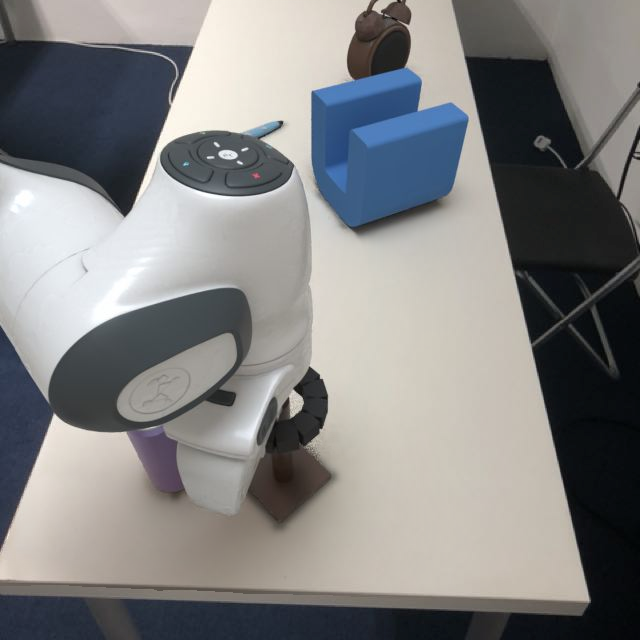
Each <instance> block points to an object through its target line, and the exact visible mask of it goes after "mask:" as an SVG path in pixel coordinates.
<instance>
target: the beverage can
mask: <svg viewBox="0 0 640 640" xmlns="http://www.w3.org/2000/svg"><path fill="white" fill-rule="evenodd" d="M163 425H164V424H162V425H159V426H155V427H150V428H146V429H141V430H135V431H127V432H125V433H126V435H127V437H128V439H129V441H130V443H131V445H132V447H133V449H134V451H135V453H136V455H137V457H138V459H139V461H140V463H141V465H142V466H143V468H144V470H145V473H146V474H147V476H148V479H149V480H150V483H151V484H152V485H153V486H154V487H155V488H156V489H157V490H159V491H161V492H164V493H177V492H181V491H183V490H185V488H184V485H183V483H182V480H181V477H180V473H179V470H178V466H177V445H178V441H175V440H173V439H171V438H169V437H167V435H166V434H165V431H164V426H163Z"/></svg>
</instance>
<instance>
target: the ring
mask: <svg viewBox="0 0 640 640" xmlns="http://www.w3.org/2000/svg"><path fill="white" fill-rule="evenodd" d="M327 390H328V389H327V387H326V384H325V381H324V379H323V378H321V374H320V373H319V372H317V370H316V369H314V368H313V367H311V366H310V365H309V368H308V370H307V372H306V374H305V375H304V377H303V378H302V380H301V381H300V382H299V383H298V384H297V385H296V386H295V387H294V388H293V390H292V391H294V392H295V393H296V394H298V395H299V396H300V398H302V402H303V404H302V406H301V409H300V410H299V411H298V412H297V413H296V414H294V415H293V416H292V417H291V419H287V420H283V421H279V422H275V423H274V425H273V428H272V430H271V433H270V435H269V440H268V441H269V445H268V447H267V450H266V453H270V454H273V453H274V450H275V447H276V448H277V453H278V454H282V453H286V452H290V451H295V450H299V449H300V444H301V445H302V446H303V447H304V448H305V447H306V446H307V445H308V444H310V443H311V442H312V441H313V440H314V439H315V438H316V437H318V436H319V435H320V434H321V430H323V429H324V425H325V422H326V419H327V416H328V413H329V393H328V391H327ZM299 443H300V444H299Z"/></svg>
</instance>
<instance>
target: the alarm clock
mask: <svg viewBox="0 0 640 640" xmlns="http://www.w3.org/2000/svg"><path fill="white" fill-rule="evenodd" d="M378 1H379V0H370V1H369V3H368V5H367V8H366V10H363V11H362V12H361V13H359V15H358V16H357V17H356V19H355V22H354V31H355V32H354V33H353V35H352V38H351V40H350V43H349V46H348V49H347V53H346V68H347V71H348V74H349V76H350V77H351V79H352V80H353V81H354V80H358V79H362V78H366V77H370V76H374V75H379V74H383V73H387V72H391V71H395V70H399V69H403V68H406V66H407V64H408V61H409V57H410V54H411V48H412V38H411V37H412V36H411V33H410V30H409V29H408V26H410V24H411V21H412V16H413V15H412V11H411V8H410V7H409V6H408V5H407V4H406V2H407V0H396V1H392V2H390V3H388V4H387V6H386V7H385V8H382V9H381V10H380V13H379V12H378V11H376V10H373V8H374V6H375V4H376V3H377V2H378ZM406 25H407V26H406Z"/></svg>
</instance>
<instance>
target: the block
mask: <svg viewBox="0 0 640 640" xmlns="http://www.w3.org/2000/svg"><path fill="white" fill-rule="evenodd" d="M422 84H423V80H422V78H421V77H420V76H419V75H418V74H416V73H415V72H414V71H413V70H411V69H410V68H408V67H405V68H403V69H399V70H395V71H391V72H387V73H383V74H379V75H374V76H370V77H366V78H362V79H358V80H354V79H353V80H351V81H347V82H342V83H338V84H335V85H330V86H327V87H322V88H318V89H314V90H311V93H310V136H311V137H310V155H311V157H310V159H311V166H312V171H313V172H312V173H313V175H314V180H315V182H316V185H317V187H318V189H319V191H320V193H321V196H322V197H323V198H324V199H325V200H326V202H327V203H328V205H329V206H330V207H331V208H332V209H333V210H334V212H335V213H336V214H337V215H338V217H339V218H340V219H341V220H342V221H343V222H344V224H345V225H346V226H347V225H348V227H350V228H355V227H356V228H357V227H358V226H361V225H364V224H367V223H371V222H374V221H376V220H379V219H382V218H385V217H388V216H391V215H394V214H397V213H400V212H403V211H406V210H409V209H412V208H415V207H418V206H421V205H425V204H427V203H430V202H433V201H436V200H439V199H441V198H445V197H447V196H448V195H449V194H450V193H451V192H452V190H453V188H454V186H455V181H456V177H457V174H458V173H457V172H458V169H459V168H458V167H459V165H460V164H459V163H460V159H461V156H462V151H463V147H464V142H465V138H466V135H467V134H466V133H467V129H468V125H469V121H470V120H469V115H468V114H467V113H466V112H464V110H462V109H460V108H459V107H458V106H457V105H456V104H455V103H453V102H451V101H450V102H447V103H442V104H438V105H435V106H432V107H429V108H425V109H421V110H419V105H420V99H421V93H422V87H423V85H422Z"/></svg>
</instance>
